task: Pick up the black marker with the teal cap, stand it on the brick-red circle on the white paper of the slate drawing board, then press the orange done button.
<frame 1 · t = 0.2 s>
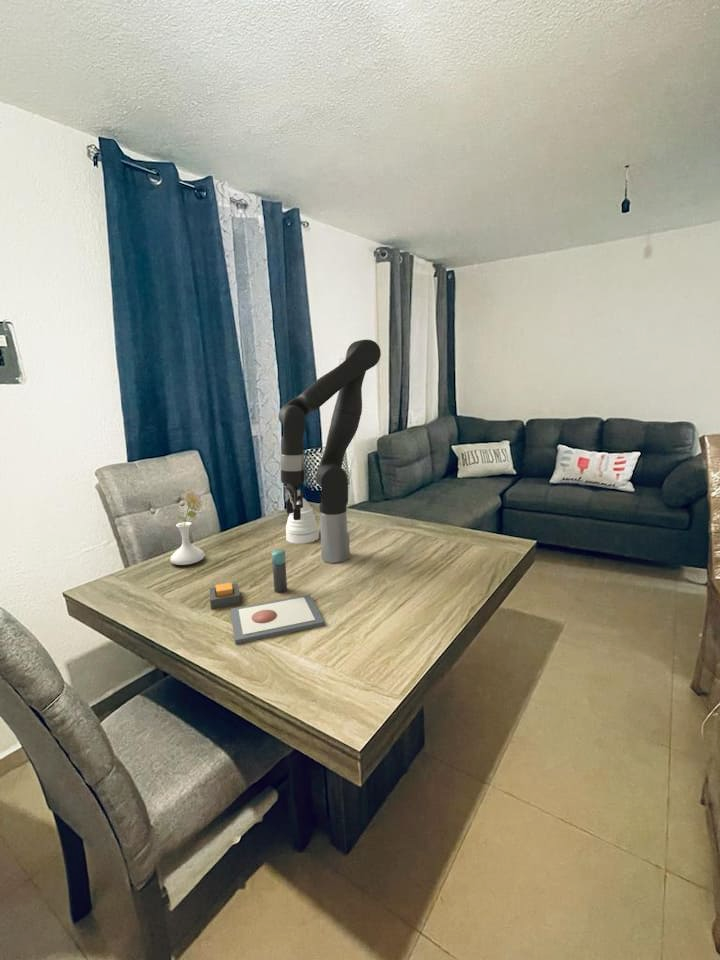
hand: (293, 516, 146), 17 cm above the table, tool pointing down, fingers open, 8 cm apart
drawing board: (276, 618, 116), on the table
button housing: (225, 599, 127), on the table
flower in vase: (190, 561, 156), on the table
honey pot: (302, 538, 176), on the table
done button: (224, 590, 127), point 3 cm above the table, slide at 0.0 cm
marker: (280, 589, 132), on the table
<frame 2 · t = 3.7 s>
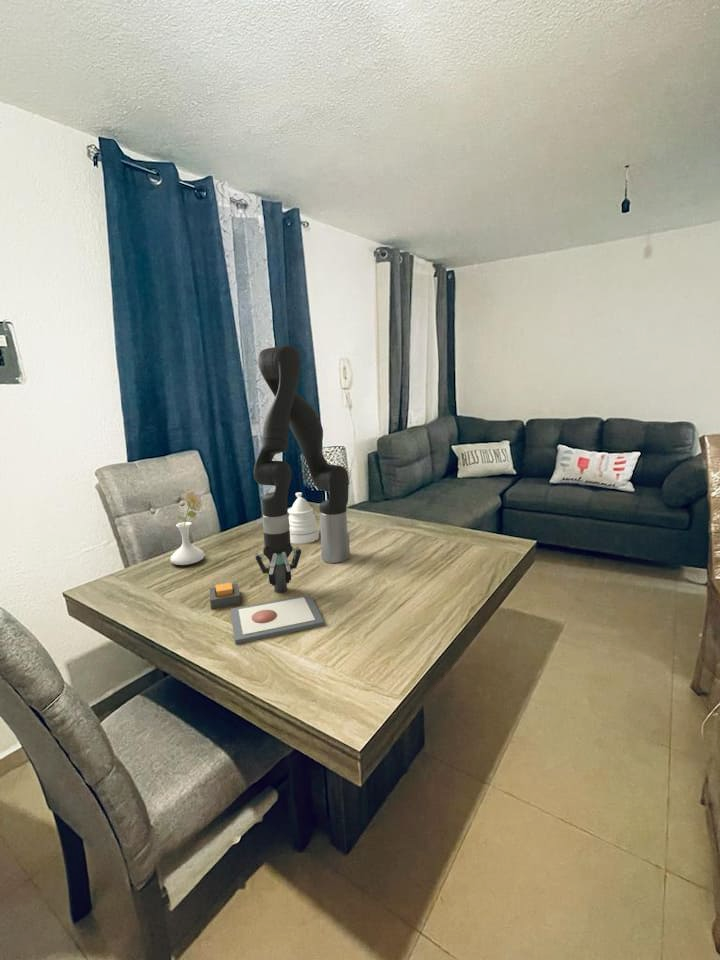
hand: (280, 583, 132), 2 cm above the table, tool pointing down, fingers closed on marker, 3 cm apart
marker: (280, 589, 132), on the table, touching gripper
everything else where it was.
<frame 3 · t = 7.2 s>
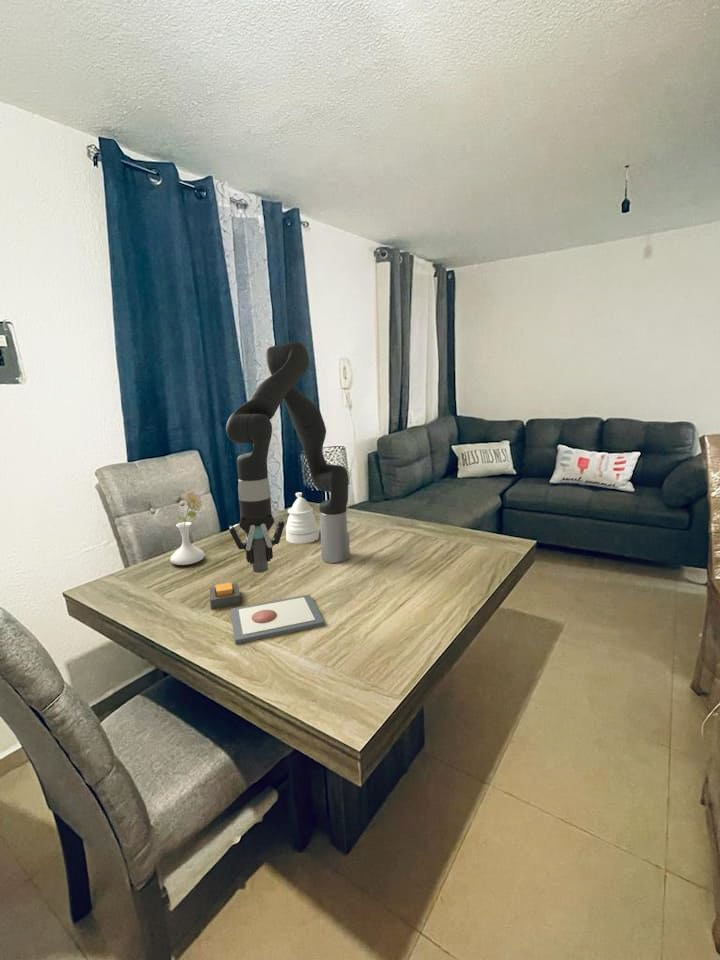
hand: (259, 561, 112), 17 cm above the table, tool pointing down, fingers closed on marker, 3 cm apart
marker: (260, 569, 112), point 14 cm above the table, touching gripper
everything else where it was.
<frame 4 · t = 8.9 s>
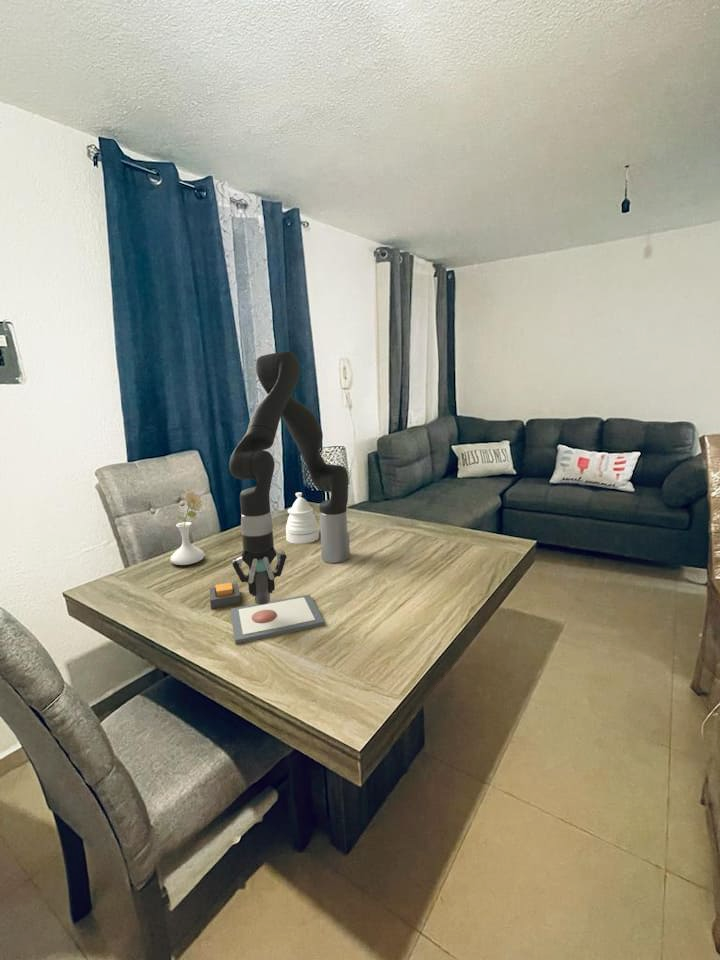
hand: (262, 593, 114), 8 cm above the table, tool pointing down, fingers closed on marker, 3 cm apart
marker: (262, 601, 114), point 6 cm above the table, touching gripper
everything else where it was.
when the fingers open (5 cm above the table, at t = 10.5 s): marker stays where it is, resting on drawing board.
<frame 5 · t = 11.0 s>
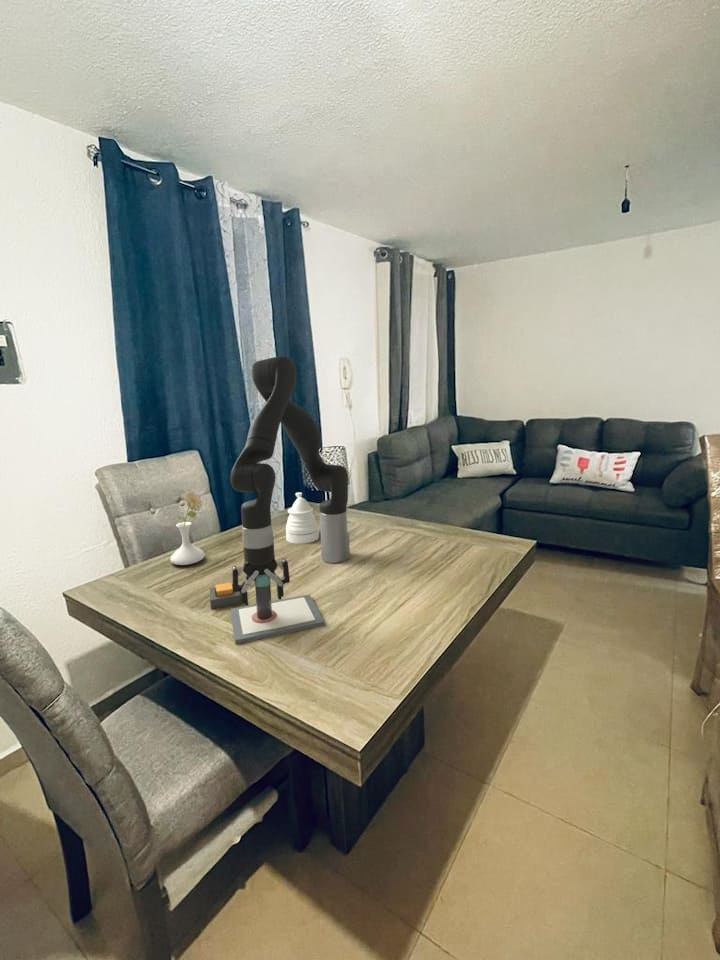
hand: (263, 601, 114), 6 cm above the table, tool pointing down, fingers open, 8 cm apart
marker: (264, 615, 115), point 1 cm above the table, touching drawing board
everything else where it was.
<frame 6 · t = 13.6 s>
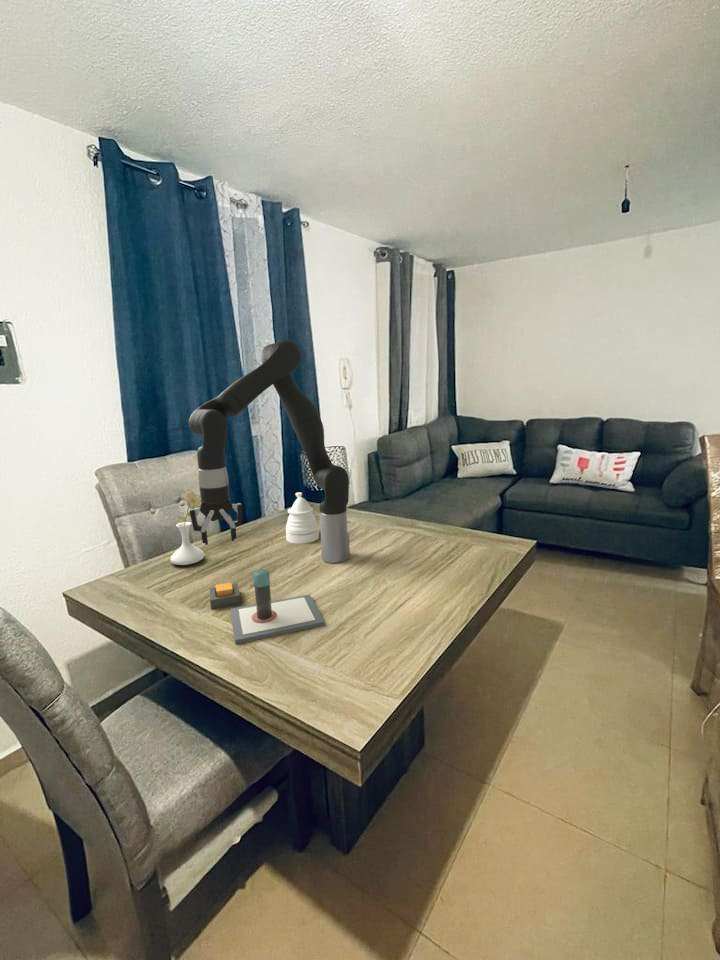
hand: (219, 541, 123), 18 cm above the table, tool pointing down, fingers open, 6 cm apart
nothing on the table moved.
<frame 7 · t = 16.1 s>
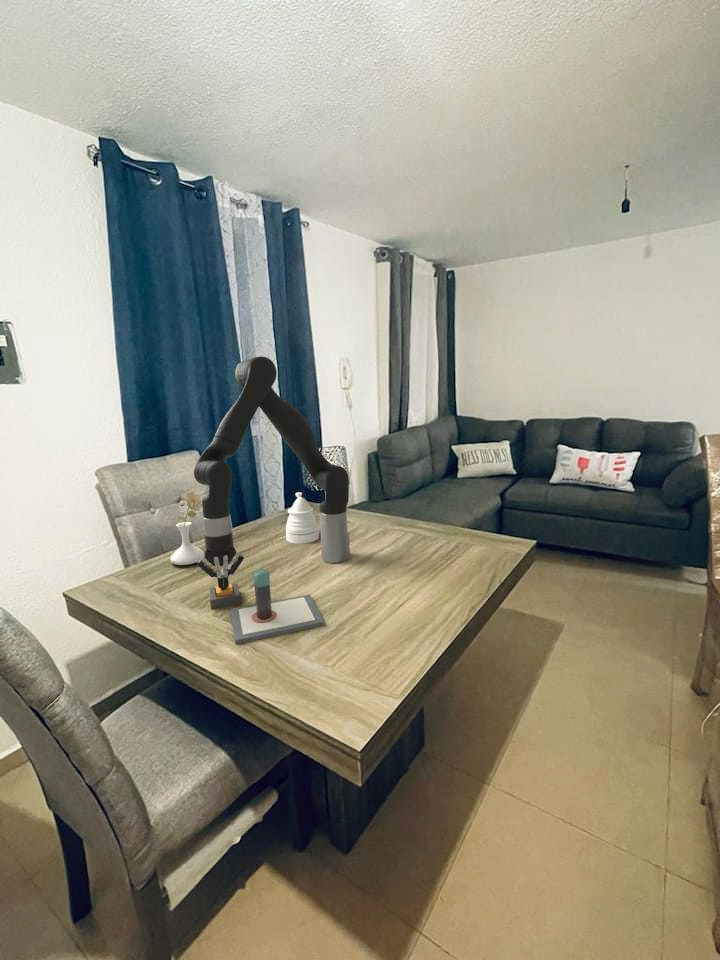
hand: (223, 588, 126), 4 cm above the table, tool pointing down, fingers closed
done button: (224, 591, 127), point 3 cm above the table, slide at 0.5 cm, touching gripper
everything else where it was.
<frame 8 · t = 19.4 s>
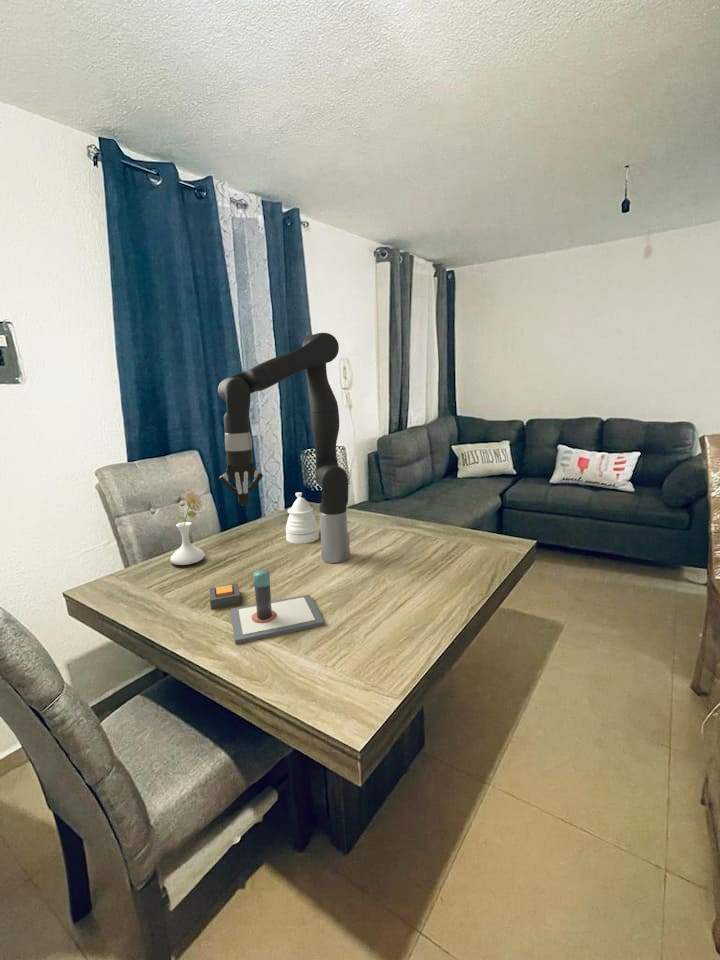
hand: (243, 505, 133), 25 cm above the table, tool pointing down, fingers closed
done button: (224, 592, 127), point 2 cm above the table, slide at 0.7 cm
everything else where it was.
at the end: marker inside the target area on the drawing board (0.1 cm from its centre), point 1.4 cm above the drawing board's base; marker tilted 0°; done button slide at 0.7 cm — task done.
